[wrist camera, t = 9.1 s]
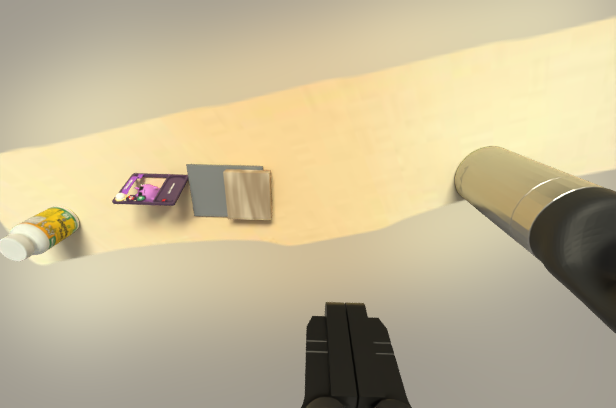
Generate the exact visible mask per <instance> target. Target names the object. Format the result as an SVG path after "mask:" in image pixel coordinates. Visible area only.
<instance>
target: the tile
mask: <svg viewBox="0 0 616 408" xmlns="http://www.w3.org/2000/svg"><path fill="white" fill-rule="evenodd" d="M223 175H224V185H225V194H226V204H227V213H228V219H248V220H271V218H272V199H271V170H241V169H226V170H225V171H224V172H223Z"/></svg>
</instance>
